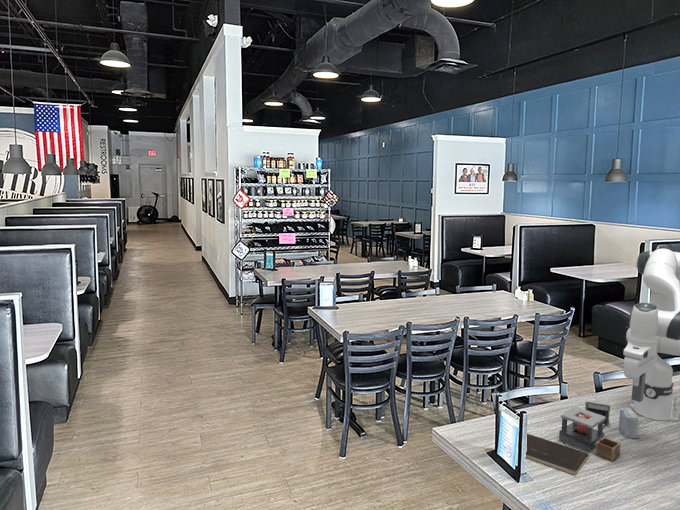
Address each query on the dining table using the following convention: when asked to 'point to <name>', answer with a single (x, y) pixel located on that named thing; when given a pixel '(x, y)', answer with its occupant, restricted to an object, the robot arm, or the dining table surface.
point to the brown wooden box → (607, 449)
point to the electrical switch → (598, 409)
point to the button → (582, 428)
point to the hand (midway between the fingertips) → (638, 383)
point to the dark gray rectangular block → (639, 389)
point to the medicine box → (628, 423)
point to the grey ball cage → (576, 438)
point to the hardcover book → (555, 454)
